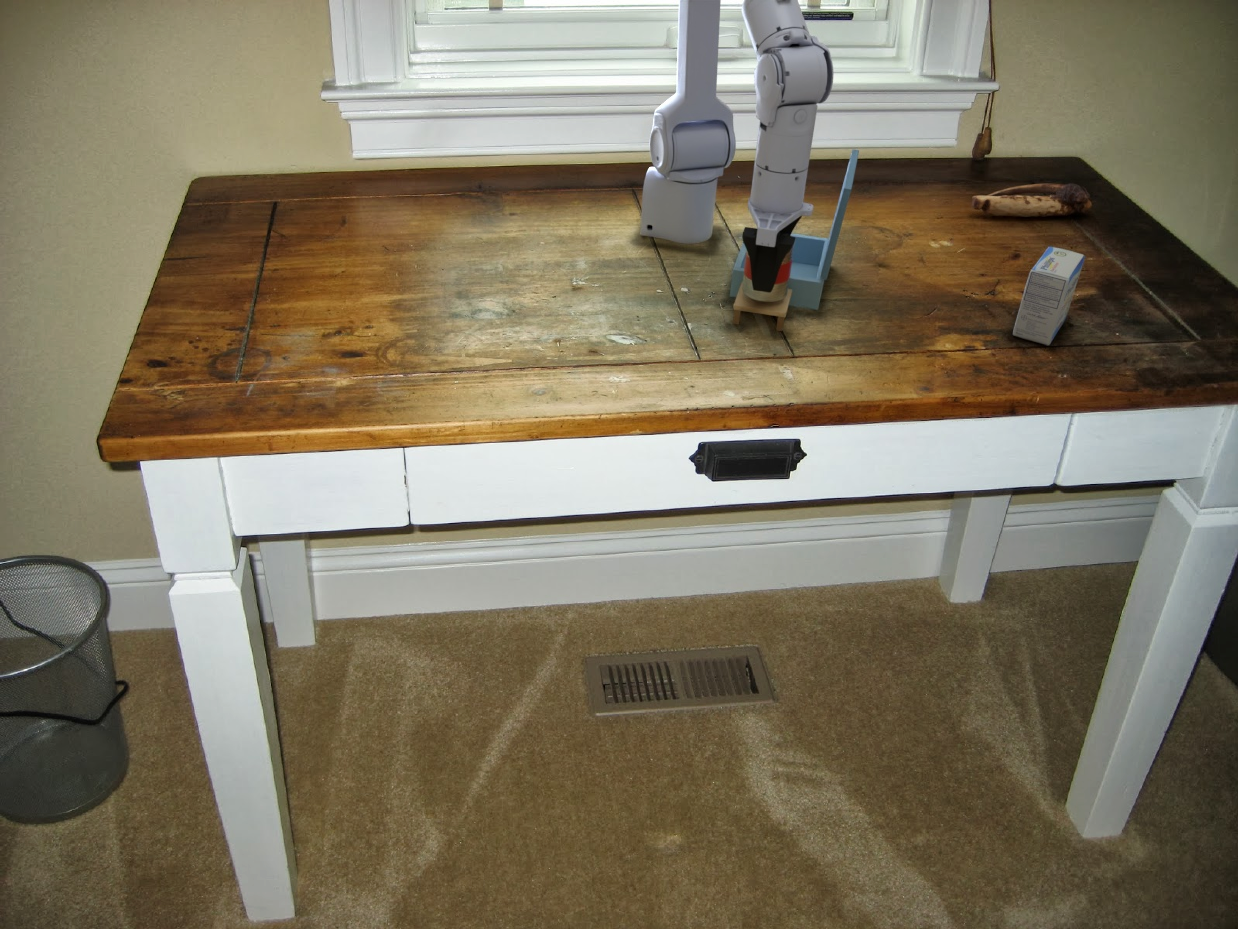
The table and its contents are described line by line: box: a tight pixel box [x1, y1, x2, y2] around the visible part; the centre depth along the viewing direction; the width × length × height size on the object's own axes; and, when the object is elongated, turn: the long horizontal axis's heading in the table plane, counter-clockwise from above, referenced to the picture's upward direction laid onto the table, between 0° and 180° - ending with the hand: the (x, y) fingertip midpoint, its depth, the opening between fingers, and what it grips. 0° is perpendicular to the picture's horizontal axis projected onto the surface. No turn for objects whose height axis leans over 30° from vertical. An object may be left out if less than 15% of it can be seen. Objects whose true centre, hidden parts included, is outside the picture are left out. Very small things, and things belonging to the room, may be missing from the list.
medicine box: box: [1012, 246, 1086, 347], centre depth 125 cm, size 8×4×9 cm, turn 148°
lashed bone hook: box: [971, 183, 1093, 218], centre depth 154 cm, size 9×5×18 cm
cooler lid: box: [820, 148, 860, 281], centre depth 126 cm, size 11×13×1 cm
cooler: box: [729, 232, 829, 311], centre depth 132 cm, size 11×13×4 cm
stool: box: [732, 282, 792, 332], centre depth 125 cm, size 6×6×3 cm
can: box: [742, 231, 795, 302], centre depth 122 cm, size 5×5×6 cm
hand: (765, 278), depth 123 cm, fingers closed on can, 5 cm apart
